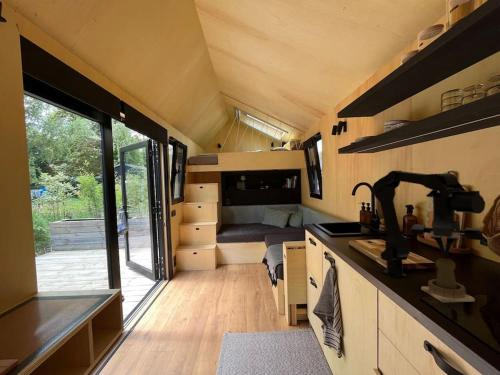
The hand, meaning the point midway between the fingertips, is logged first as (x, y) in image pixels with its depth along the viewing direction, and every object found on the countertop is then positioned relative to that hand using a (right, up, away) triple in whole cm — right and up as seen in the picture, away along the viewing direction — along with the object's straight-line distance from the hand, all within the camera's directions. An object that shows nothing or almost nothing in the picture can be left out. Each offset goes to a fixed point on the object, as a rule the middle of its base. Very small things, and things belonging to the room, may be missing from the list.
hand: (445, 257), depth 84 cm
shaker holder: (+1, -13, 0) cm, 13 cm away
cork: (+1, -12, 0) cm, 12 cm away
